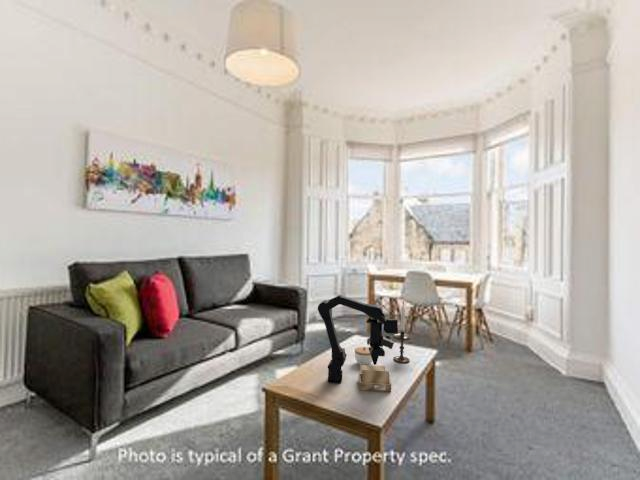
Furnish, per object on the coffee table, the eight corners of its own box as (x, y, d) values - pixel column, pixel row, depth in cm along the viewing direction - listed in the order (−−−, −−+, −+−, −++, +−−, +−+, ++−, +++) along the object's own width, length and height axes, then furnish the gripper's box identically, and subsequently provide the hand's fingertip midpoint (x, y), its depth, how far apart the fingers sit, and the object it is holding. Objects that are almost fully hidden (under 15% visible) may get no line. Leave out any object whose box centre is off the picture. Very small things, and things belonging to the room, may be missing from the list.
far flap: (360, 364, 177) (360, 365, 177) (360, 372, 173) (360, 372, 173) (384, 366, 177) (384, 366, 177) (386, 373, 172) (386, 374, 172)
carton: (359, 390, 161) (359, 383, 161) (358, 380, 173) (358, 373, 172) (391, 392, 161) (391, 384, 161) (388, 381, 172) (388, 374, 172)
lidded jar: (351, 365, 192) (351, 348, 192) (358, 359, 202) (359, 342, 202) (369, 369, 188) (370, 351, 187) (376, 362, 197) (376, 346, 197)
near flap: (362, 381, 161) (362, 381, 161) (362, 370, 163) (362, 370, 163) (389, 382, 161) (389, 383, 160) (389, 371, 162) (389, 371, 162)
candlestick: (413, 364, 196) (415, 302, 195) (393, 363, 196) (395, 301, 195) (408, 357, 207) (410, 298, 206) (390, 356, 207) (392, 297, 206)
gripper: (396, 338, 157) (395, 372, 158) (389, 327, 176) (388, 358, 176) (371, 337, 158) (370, 372, 158) (367, 326, 176) (366, 357, 177)
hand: (374, 364), depth 167 cm, fingers closed
